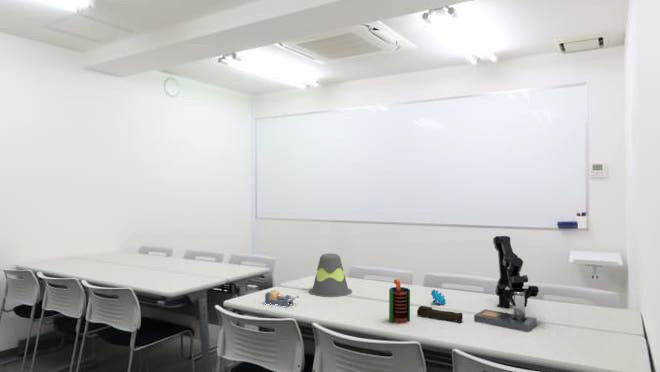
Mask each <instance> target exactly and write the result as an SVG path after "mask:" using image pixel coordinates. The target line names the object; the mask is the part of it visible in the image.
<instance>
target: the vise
mask: <svg viewBox="0 0 660 372" xmlns="http://www.w3.org/2000/svg"><path fill="white" fill-rule="evenodd" d="M280 293H281V292H280V291H278V290H276V289H275V290H271V291H268V292H266V293H265V295H264V296H265V297H264V298H265V299H264V304H265V303H266V304H270V303H271V304H270V305H272V304H278V305H277V306H279V305H281V306H287V307H289V305H290V304H292V305H294V301H296V299H298V298H299V297H300V295H298V294H297V295H296V296H291V295H290V294H286V295H282V294H280ZM288 303H289V304H288ZM266 304H265V305H266ZM281 306H280V307H281Z"/></svg>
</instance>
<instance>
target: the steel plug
mask: <svg viewBox="0 0 660 372" xmlns="http://www.w3.org/2000/svg"><path fill="white" fill-rule="evenodd" d="M513 294H514V296H513V300H514V306H513V314H514V319H515V320H519V321H524V320H525V316H526V307H525V292H523V291H513Z"/></svg>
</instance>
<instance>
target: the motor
mask: <svg viewBox="0 0 660 372" xmlns="http://www.w3.org/2000/svg"><path fill="white" fill-rule="evenodd" d="M393 284H395V286H394V287H393V286H392V287H390V288H388V289H389V291H388V292H389V293H388V295H389V298H388V301H389V302H388V303H389V305H388V310H389V312H388V321H389V322H390V323H391V324H393V323H396V324H407V323H408V322H410V321H411V289H410V288H409V287H404V286H403V287H402V285H401V280H400V279H397V278H396V279H393Z"/></svg>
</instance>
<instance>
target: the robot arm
mask: <svg viewBox="0 0 660 372" xmlns="http://www.w3.org/2000/svg"><path fill="white" fill-rule="evenodd" d="M492 243H493V245H494V249H495V250H496V251H497V254H498V255H497V256H498V267H499V268H498V269H499V270H498V271H499V278H498V280H497V284H496V287H495V295H496V296H497V297H498V304H497V305H496V307H500V308H504V309H510V308H511V307H514V294H513V291H523V292H525V308H526V307H527V306H528V299H529V298H531V297H532V298H533V297H534V298H535V297H537V296H538V294H539V292H540V291H539V287H538V285H528V287H527V288H525V287H524V286H525V283H528V282H529V278H528V275H527V274H526V275H525V274H523V275H521V273H520V272H521V271H522V267H523V265H524V261H523V259H522V258H520V257H519V256H518V254H516V253H515V252H514V251H513V248H512V245H511V237H510V236H509V235H506V236H505V235H498V236H497V235H495V237H493V240H492Z"/></svg>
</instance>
